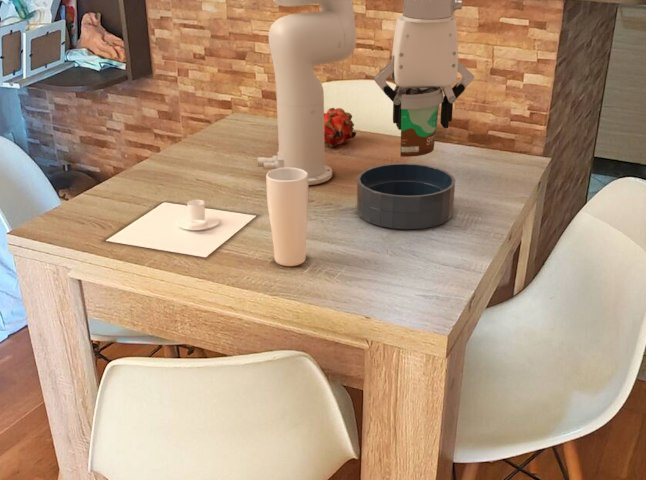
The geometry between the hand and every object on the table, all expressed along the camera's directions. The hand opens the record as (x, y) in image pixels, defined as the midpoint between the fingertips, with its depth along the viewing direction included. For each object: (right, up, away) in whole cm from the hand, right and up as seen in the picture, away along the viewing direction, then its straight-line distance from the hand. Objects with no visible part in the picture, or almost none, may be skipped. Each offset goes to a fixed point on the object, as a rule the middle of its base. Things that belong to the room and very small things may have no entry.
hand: (421, 125), depth 135 cm
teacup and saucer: (-42, -14, +15) cm, 47 cm away
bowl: (-1, -10, +22) cm, 24 cm away
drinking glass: (-22, -22, +4) cm, 31 cm away
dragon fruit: (-15, +14, +58) cm, 61 cm away
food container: (0, -3, +2) cm, 4 cm away
